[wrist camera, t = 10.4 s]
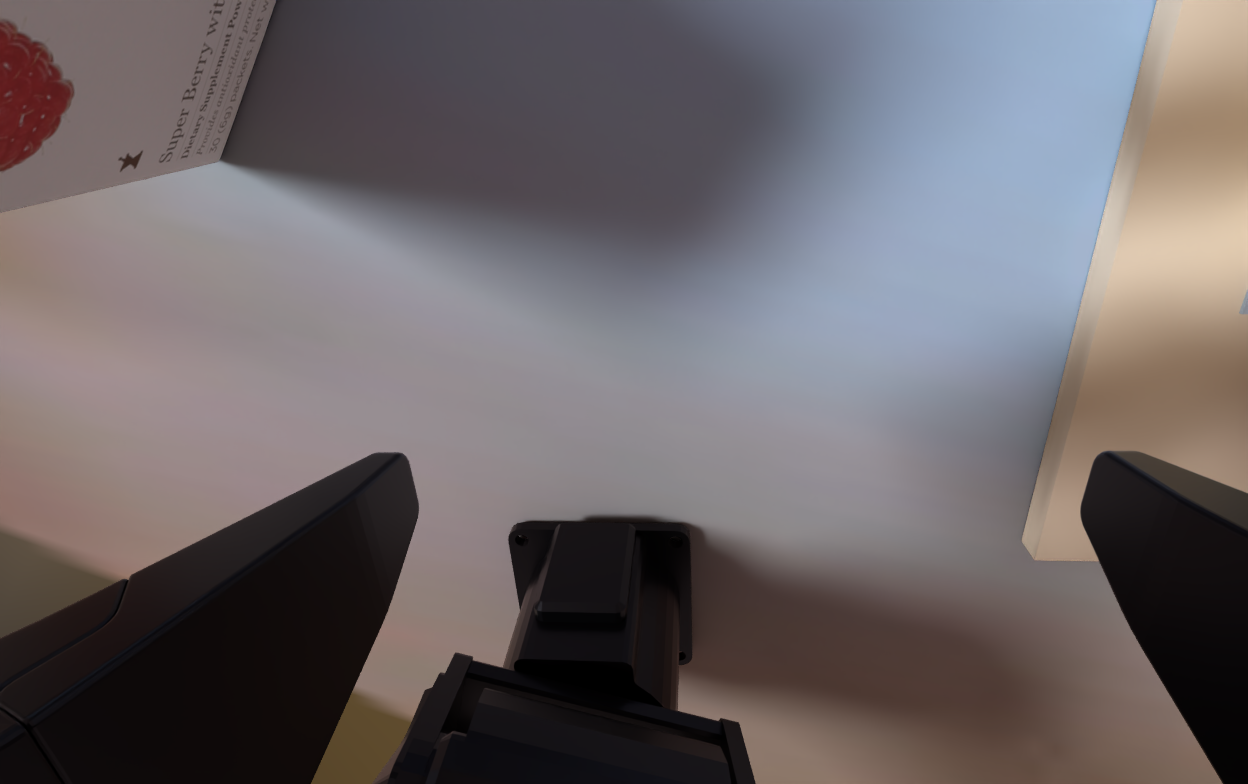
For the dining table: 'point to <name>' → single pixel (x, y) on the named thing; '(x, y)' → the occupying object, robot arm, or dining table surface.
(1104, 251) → the tan board grey square
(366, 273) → the dining table surface
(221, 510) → the dining table surface
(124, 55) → the supplement box
